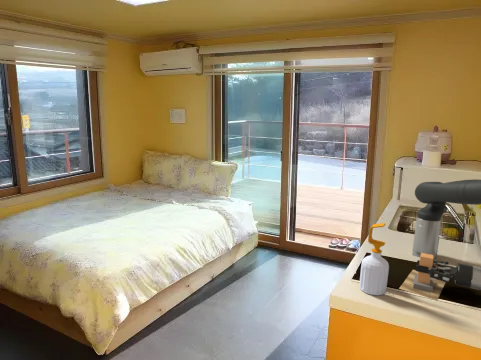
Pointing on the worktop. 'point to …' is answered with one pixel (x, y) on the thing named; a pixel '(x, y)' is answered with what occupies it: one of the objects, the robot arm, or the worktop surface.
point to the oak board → (434, 294)
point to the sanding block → (424, 274)
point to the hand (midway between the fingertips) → (416, 265)
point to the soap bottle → (374, 268)
